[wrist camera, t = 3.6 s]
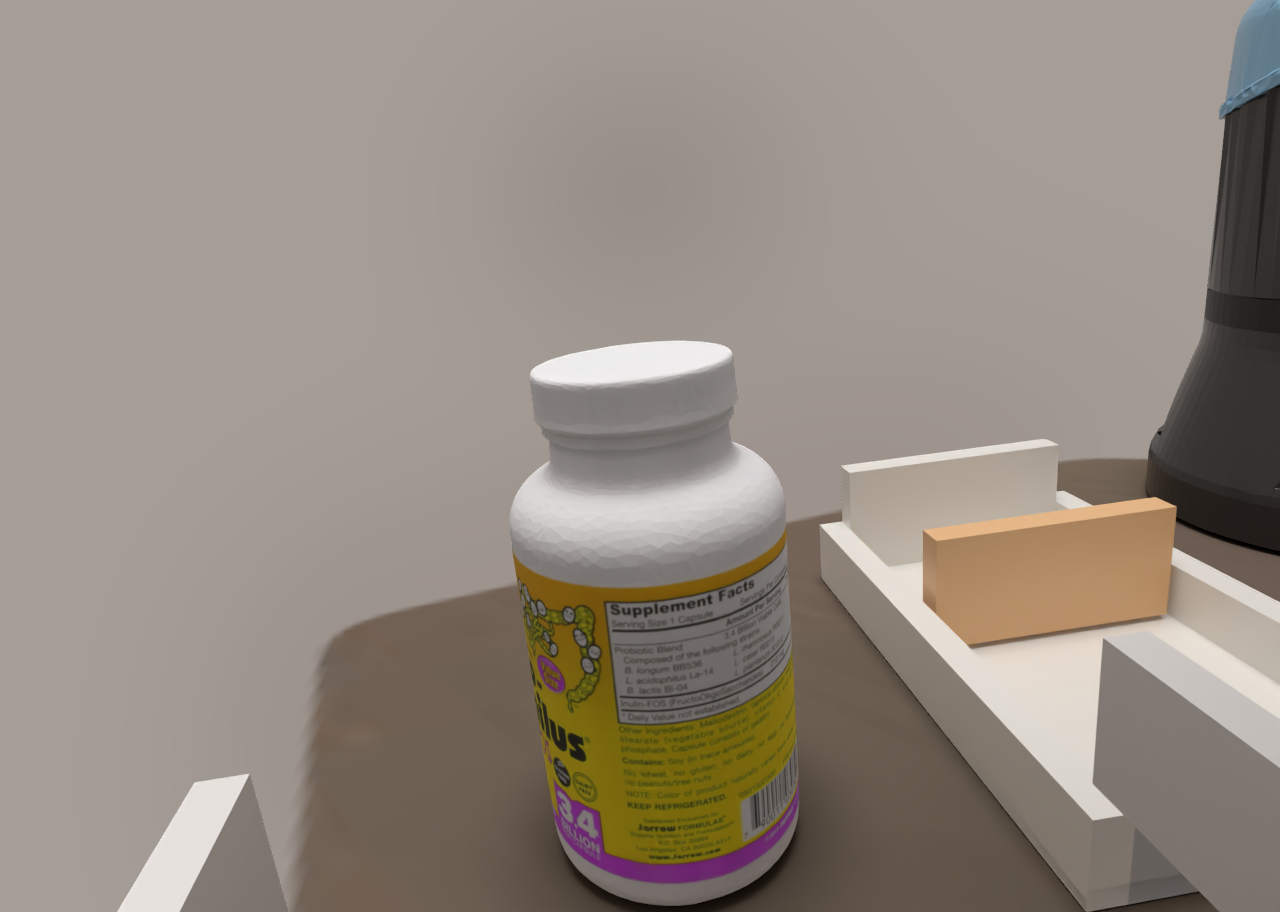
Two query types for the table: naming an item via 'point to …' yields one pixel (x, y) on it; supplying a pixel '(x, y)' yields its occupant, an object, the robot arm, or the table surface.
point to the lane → (1030, 655)
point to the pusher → (1050, 570)
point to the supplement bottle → (658, 624)
